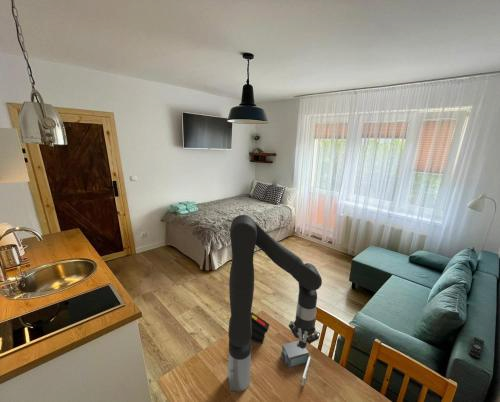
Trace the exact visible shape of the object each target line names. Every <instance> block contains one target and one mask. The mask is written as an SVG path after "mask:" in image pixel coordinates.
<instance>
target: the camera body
mask: <svg viewBox="0 0 500 402" xmlns="http://www.w3.org/2000/svg"><path fill="white" fill-rule="evenodd" d="M281 348H282V349H281V352H280V358H281V360H282V362H283V363H284V364H285V365H286V366H287V368H292V367H293V368H294V367H297V366H300V365H302V364H307V362H308V358H309V351H308V349H307V346H306V347H305V348H304V349H302V348H300V346H299V340H296V341H291V342H287V343H284V344H282V347H281Z"/></svg>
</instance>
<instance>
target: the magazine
mask: <svg viewBox="0 0 500 402" xmlns="http://www.w3.org/2000/svg"><path fill="white" fill-rule="evenodd" d="M250 317H251V321H252V337H251V342H252V341H253V342H255V343H259V344H260V345H262V344H263V343H264V340H265V338H266V333H268V330H269V327H270V323H268V322H267V321H266V320H264V319H263V318H261V317H259V316H258V315H257V314H255V313H254V312H253V311H251V316H250Z"/></svg>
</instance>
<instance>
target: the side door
mask: <svg viewBox="0 0 500 402" xmlns="http://www.w3.org/2000/svg"><path fill="white" fill-rule="evenodd" d="M311 361H312V355H311V354H308V361H307V363H306V365H305V368H304V372H303V374H302V380H301V386H304V385H306V379H307V375H308V372H309V367H310V365H311Z"/></svg>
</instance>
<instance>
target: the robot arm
mask: <svg viewBox="0 0 500 402" xmlns="http://www.w3.org/2000/svg"><path fill="white" fill-rule="evenodd" d="M229 238H230V245H231V247H230V248H231V264H230V270H229V280H228V281H229V284H228V285H229V286H228V288H229V289H228V292H229V304H230V305H229V306H230V317H229V320H228V321H229V322H228V332H227V333H228V360H227V380H228V384H229V385H228V386H229V389H230V391H235V392H238V393H240V392H243V391H246V390H247V389H248V388H249V386H250V384H251V365H252V364H251V360H252V357H251V356H252V340H251V337H252V321H251V317H250V316H251V313H252V308H253V301H254V291H255V266H254V256H255V248H256V247H258V248H259V249H260V250H261V251H262V252H263V253H264V254H265V255H266V256H267V257H268V259H270V260H271V262H273V263H274V264H275V265H276V266H278V267H279V268H280V269H282V270H283V271H284V272H286V273H287V274H289V275H291V276H292V278H293V279H295V281H296V282H297V283H298V295H297V302H296V303H297V304H296V311H295V319H294V321H292V320H291V321H290V322H289V324H288V328H289V329H290V330H291V332H292V334H293V336H294V337H295V339H298V341H299V346H300V348H302V349H304V348H305V347H306V348H307V344H312V343H314V342H316V341H317V340H319V339H320V335H321V333H320V332H319V331H316V327H315V325H316V324H315V323H316V318H317V317H316V316H317V304H318V303H317V302H318V292H317V290H319V289H321V287H322V284H323V281H322V280H323V279H322V276H321V275H320V273H319V271H318V270H317V268H316V267H315V265H314V264H312V263H310V262H306V263H304V262H303V260H302V258H300V257H299V256H298V255H297V254H295V253H294V252H292V251H291V250H289V249H288V248H286V247H285V246H284V245H282V244H281V243H280V242H279V241H278V240H277V239H274V237H272V236H271V235H270V234H269V233H267V232H266V230H264V229H263V228H262V227H261V226H260V225H259V224H258V223H257V222H256V220H254V219H253V218H252V216H249V215H246V214H239V215H237V216H235V217H234V218H233V219H232V221H231V223H230V229H229Z"/></svg>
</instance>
